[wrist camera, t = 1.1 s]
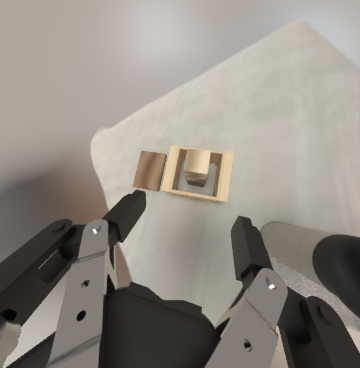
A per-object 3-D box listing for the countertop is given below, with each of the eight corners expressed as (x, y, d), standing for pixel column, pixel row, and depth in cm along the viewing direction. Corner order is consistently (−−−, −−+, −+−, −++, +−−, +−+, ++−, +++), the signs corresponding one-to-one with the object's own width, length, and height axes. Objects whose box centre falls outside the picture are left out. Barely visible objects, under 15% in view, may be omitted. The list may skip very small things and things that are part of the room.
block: (205, 172, 42) (210, 151, 27) (203, 186, 41) (207, 174, 26) (190, 170, 43) (187, 148, 27) (188, 184, 42) (183, 170, 27)
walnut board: (166, 155, 45) (165, 153, 44) (158, 191, 43) (157, 190, 42) (143, 152, 47) (141, 150, 45) (134, 186, 45) (132, 186, 43)
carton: (226, 162, 42) (233, 152, 34) (221, 203, 40) (227, 202, 32) (175, 156, 45) (170, 145, 37) (167, 193, 43) (161, 190, 35)
